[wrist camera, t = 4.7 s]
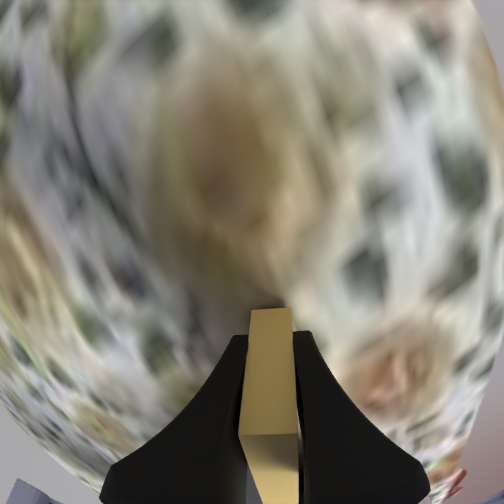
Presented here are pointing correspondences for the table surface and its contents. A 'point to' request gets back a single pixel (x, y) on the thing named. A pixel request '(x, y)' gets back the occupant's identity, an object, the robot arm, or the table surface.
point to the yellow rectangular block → (271, 407)
